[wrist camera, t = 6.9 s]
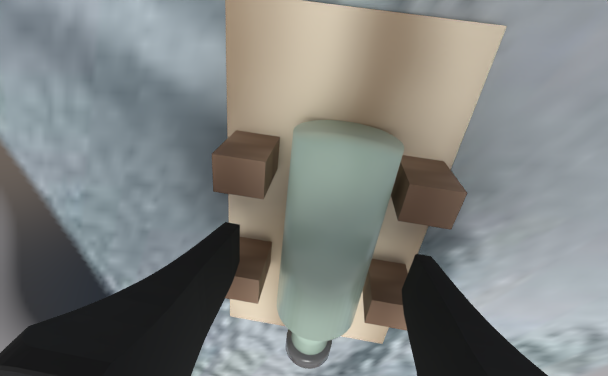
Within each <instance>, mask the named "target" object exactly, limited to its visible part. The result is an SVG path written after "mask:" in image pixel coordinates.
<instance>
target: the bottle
mask: <svg viewBox="0 0 608 376" xmlns="http://www.w3.org/2000/svg"><path fill="white" fill-rule="evenodd" d="M403 152H404V145H403V144H402V142H401V141H400V140H399V139H397V138H396V137H394V136H393V135H391V134H389V133H387V132H385V131H383V130H380V129H377V128H374V127H371V126H367V125H363V124H359V123H354V122H347V121H340V120H313V121H308V122H304V123H301V124H299V125H297V126H296V127H295V128H294V130H293V139H292V149H291V159H290V170H289V180H288V190H287V200H286V211H285V221H284V231H283V241H282V252H281V262H280V272H279V282H278V293H277V311H278V315H279V317H280V319H281V321H282V322H283V324H284V325H285V326H286V327H287V328H288V332H287V339H286V351H287V354H288V356H289V358H290V359H291V360H292V361H293V362H294V363H295V364H296V365H298V366H300V367H303V368H308V369H310V368H316V367H319V366H320V365H322V364H323V363H324V362H325V361H326V360H327V358H328V356H329V352H330V348H331V344H332V340H333V339H336V338H338V337H340V336H342V335H343V334H344V333H346V332H347V331H348V329H349V328H350V327H351V325H352V323H353V320H354V317H355V314H356V311H357V307H358V304H359V300H360V297H361V294H362V290H363V287H364V284H365V280H366V277H367V274H368V270H369V267H370V263H371V260H372V257H373V253H374V250H375V247H376V243H377V240H378V236H379V233H380V230H381V226H382V223H383V220H384V216H385V213H386V210H387V206H388V203H389V199H390V196H391V193H392V189H393V186H394V183H395V179H396V176H397V172H398V169H399V166H400V162H401V159H402V156H403Z"/></svg>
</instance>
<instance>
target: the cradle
mask: <svg viewBox="0 0 608 376" xmlns="http://www.w3.org/2000/svg"><path fill="white" fill-rule="evenodd" d="M225 5H226V71H227V136H228V139H227V140H226V141H225V142H223V143H222V144H221V145H220V146H219V147H218V148H217V149H216V150H215V151H214V152H213V153H212V171H213V192H220V193H226V194H228V201H229V223H234V224H240V262H239V265H238V268H237V271H236V274H235V277H234V279H233V282H232V285H231V287H230V289H229V291H228V293H227V295H226V297H225V298H227V299H230V316H232V317H237V318H243V319H248V320H254V321H259V322H265V323H270V324H276V325H281V326H285V325H284V324H283V322H282V321H281V319H280V317H279V315H278V311H277V293H278V282H279V272H280V262H281V252H282V241H283V231H284V221H285V211H286V200H287V190H288V180H289V170H290V159H291V149H292V139H293V130H294V128H295V127H296V126H297V125H299V124H301V123H304V122H308V121H313V120H340V121H347V122H354V123H359V124H363V125H367V126H371V127H374V128H377V129H380V130H383V131H385V132H387V133H389V134H391V135H393V136H394V137H396V138H397V139H399V140H400V141H401V142H402V144H403V145H404V152H403V156H402V159H401V162H400V166H399V169H398V172H397V176H396V179H395V183H394V186H393V189H392V193H391V196H390V199H389V203H388V206H387V210H386V213H385V216H384V220H383V223H382V226H381V230H380V233H379V236H378V240H377V243H376V247H375V250H374V253H373V257H372V260H371V263H370V267H369V270H368V274H367V277H366V280H365V284H364V287H363V290H362V294H361V297H360V300H359V304H358V307H357V311H356V314H355V317H354V320H353V323H352V325H351V327H350V328H349V329H348V331H347V332H346V333H344V334H343V335H342V337H348V338H353V339H359V340H364V341H370V342H375V343H381V344H382V343H383V341H384V338H385V336H386V333H387V330H388V328H389V327H390V328H396V329H402V330H407V327H406V322H405V317H404V311H403V302H402V287H403V285H404V282H405V280H406V277H407V274H408V272H409V269H410V267H411V264H412V262H413V259H414V256H415V254H418V251H419V249H420V246H421V244H422V241H423V239H424V236H425V234H426V231H427V229H428V226H432V227H439V228H445V229H452V227H453V224H454V222H455V220H456V217H457V215H458V213H459V211H460V208H461V206H462V204H463V202H464V199H465V197H466V195H467V192H466V191H465V189H464V188H463V186H462V185H461V184H460V182H459V181H458V180H457V178H456V177H455V176H454V174H453V173H452V171H451V167H452V165H453V162H454V160H455V157H456V155H457V152H458V150H459V147H460V144H461V142H462V139H463V137H464V134H465V132H466V129H467V127H468V124H469V122H470V119H471V116H472V114H473V111H474V109H475V106H476V104H477V101H478V99H479V96H480V93H481V91H482V88H483V86H484V83H485V81H486V78H487V76H488V73H489V71H490V68H491V65H492V63H493V60H494V58H495V55H496V53H497V50H498V48H499V45H500V43H501V40H502V37H503V35H504V32H505V30H506V27H507V26H502V25H494V24H486V23H478V22H470V21H462V20H454V19H446V18H438V17H430V16H422V15H414V14H406V13H398V12H390V11H382V10H374V9H366V8H358V7H350V6H342V5H334V4H326V3H318V2H310V1H302V0H225Z"/></svg>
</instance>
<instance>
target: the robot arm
mask: <svg viewBox="0 0 608 376" xmlns="http://www.w3.org/2000/svg"><path fill="white" fill-rule="evenodd" d="M239 262H240V224H234V223H228V222H225V223H224V224H222V225H221V226H220V227H218V228H217V229H216V230H215V231H213V232H212V233H211V234H210V235H208V236H207V237H206V238H205V239H203V240H202V241H201V242H199V243H198V244H197V245H195V246H194V247H193V248H191V249H190V250H189V251H187V252H186V253H185V254H183V255H182V256H180V257H179V258H177V259H176V260H174V261H173V262H171V263H170V264H168V265H167V266H165V267H164V268H162V269H160V270H159V271H157V272H155V273H154V274H152V275H150V276H148V277H147V278H145V279H143V280H141V281H139V282H137V283H135V284H133V285H131V286H129V287H127V288H125V289H123V290H121V291H119V292H117V293H115V294H113V295H111V296H108V297H106V298H104V299H102V300H99V301H97V302H94V303H92V304H90V305H87V306H84V307H82V308H80V309H77V310H74V311H71V312H69V313H66V314H63V315H60V316H57V317H54V318H51V319H49V320H46V321H43V322H40V323H37V324H34V325H31V326H29V327H28V328H26V329H25V330H24V331H23V332H22V333H21V334H20V335H19V336H18V337H17V338H16V339H14V341H12V342H11V343H10V344H9V345H8V346H7V347H6V348H5V349H4V350H3V351H2V352H1V353H0V376H191V374H192V371H193V368H194V366H195V363H196V360H197V358H198V355H199V353H200V350H201V347H202V345H203V342H204V340H205V338H206V336H207V333H208V331H209V329H210V327H211V325H212V323H213V321H214V319H215V317H216V315H217V313H218V311H219V309H220V307H221V305H222V303H223V301H224V299H225V297H226V295H227V293H228V291H229V289H230V287H231V285H232V282H233V279H234V277H235V274H236V271H237V268H238V265H239ZM402 302H403V311H404V317H405V322H406V327H407V331H408V336H409V340H410V344H411V349H412V353H413V357H414V362H415V366H416V371H417V376H548V375H546V374H545V373H544V372H543V371H542V370H540V369H539V368H538V367H537V366H536V365H534V364H533V363H532V362H531V361H530V360H528V359H527V358H526V357H525V356H524V355H523V354H521V353H520V352H519V351H518V350H517V349H516V348H515V347H514V346H513V345H512V344H510V343H509V342H508V341H507V340H506V339H505V338H504V337H503V336H502V335H501V334H500V333H499V332H498V331H497V330H496V329H495V328H494V327H493V326H492V325H491V324H490V323H489V322H488V321H487V320H486V319H485V318H484V317H483V316H482V315H481V314H480V313H479V312H478V311H477V310H476V309H475V308H474V306H473V305H472V304H471V303H470V302H469V301H468V300H467V299H466V297H465V296H464V295H463V294H462V293H461V292H460V291H459V289H458V288H457V287H456V286H455V285H454V283H453V282H452V281H451V280H450V279H449V277H448V276H447V275H446V274H445V273H444V271H443V270H442V269H441V268H440V266H439V265H438V264H437V263H436V262H435V261H434V259H433V258H432V257H431V256H425V255H419V254H415V256H414V259H413V262H412V264H411V267H410V269H409V272H408V274H407V277H406V280H405V282H404V285H403V287H402Z"/></svg>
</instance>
